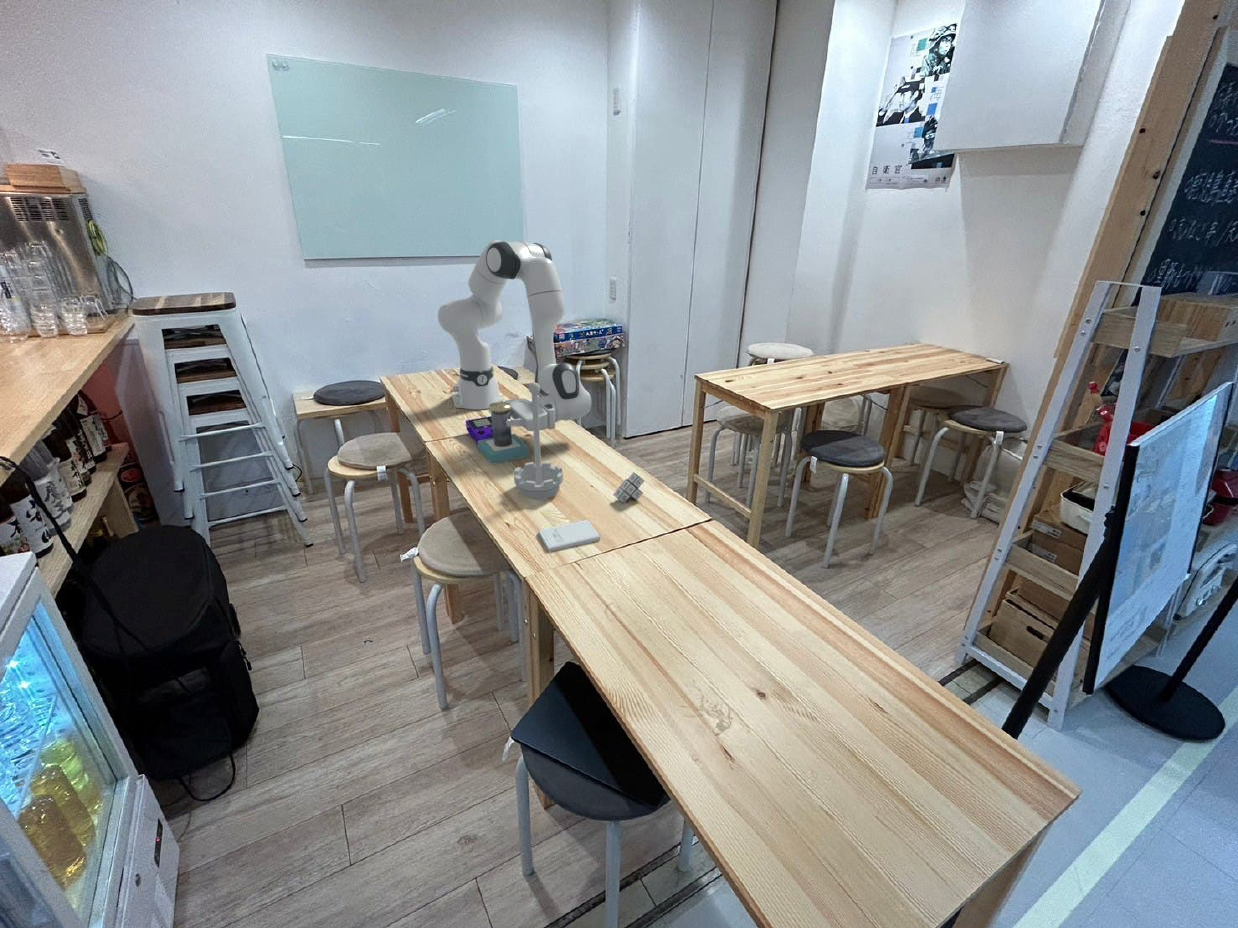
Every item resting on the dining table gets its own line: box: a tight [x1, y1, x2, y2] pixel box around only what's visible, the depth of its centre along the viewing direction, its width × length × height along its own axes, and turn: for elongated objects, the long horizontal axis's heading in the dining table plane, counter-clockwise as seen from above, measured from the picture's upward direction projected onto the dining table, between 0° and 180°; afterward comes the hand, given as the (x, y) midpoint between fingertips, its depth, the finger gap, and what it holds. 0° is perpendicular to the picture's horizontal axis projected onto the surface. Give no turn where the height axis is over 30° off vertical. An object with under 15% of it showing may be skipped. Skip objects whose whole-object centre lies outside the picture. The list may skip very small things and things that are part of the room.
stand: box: [477, 433, 530, 465], centre depth 168 cm, size 12×12×3 cm
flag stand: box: [513, 381, 564, 500], centre depth 142 cm, size 13×13×30 cm
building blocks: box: [612, 471, 645, 504], centre depth 144 cm, size 5×5×8 cm
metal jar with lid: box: [488, 401, 513, 447], centre depth 165 cm, size 6×6×12 cm
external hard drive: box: [537, 519, 601, 553], centre depth 128 cm, size 2×8×12 cm
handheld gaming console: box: [465, 415, 493, 446], centre depth 178 cm, size 9×5×15 cm
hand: (500, 418), depth 164 cm, fingers open, 8 cm apart
